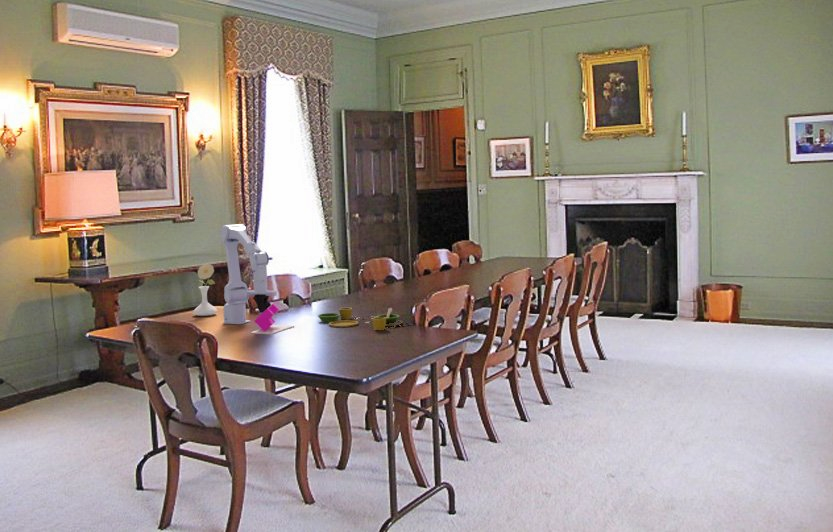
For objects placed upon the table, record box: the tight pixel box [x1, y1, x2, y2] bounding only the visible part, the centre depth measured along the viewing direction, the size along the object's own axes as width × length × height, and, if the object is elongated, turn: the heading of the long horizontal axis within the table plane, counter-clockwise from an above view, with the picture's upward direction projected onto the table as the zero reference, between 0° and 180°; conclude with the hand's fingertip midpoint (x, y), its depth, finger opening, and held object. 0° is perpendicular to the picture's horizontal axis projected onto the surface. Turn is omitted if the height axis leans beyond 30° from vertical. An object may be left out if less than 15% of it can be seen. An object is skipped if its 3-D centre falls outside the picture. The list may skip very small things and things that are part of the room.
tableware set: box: [317, 307, 403, 331], centre depth 354 cm, size 41×28×6 cm
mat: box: [250, 324, 295, 336], centre depth 344 cm, size 10×18×1 cm, turn 157°
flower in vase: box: [192, 263, 218, 317], centre depth 385 cm, size 13×11×25 cm
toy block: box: [254, 303, 280, 332], centre depth 345 cm, size 15×6×8 cm
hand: (261, 312), depth 345 cm, fingers closed
